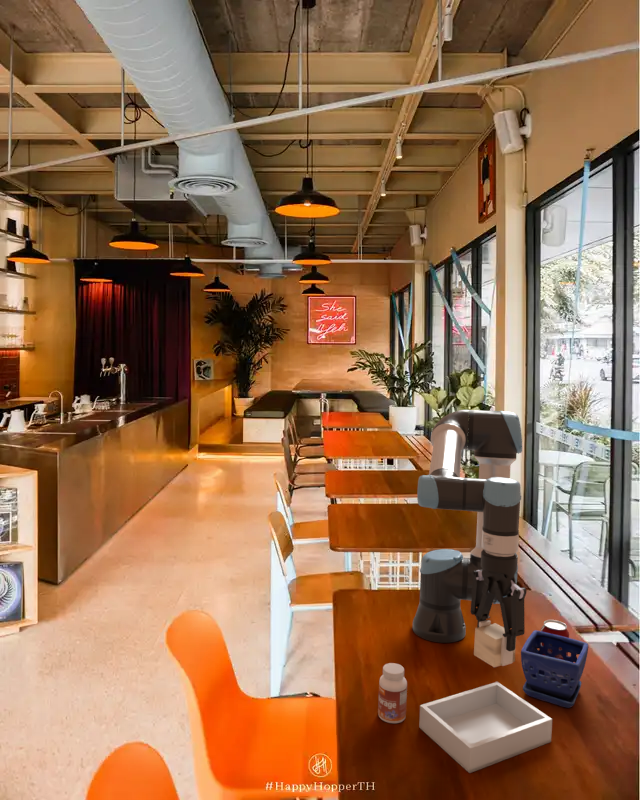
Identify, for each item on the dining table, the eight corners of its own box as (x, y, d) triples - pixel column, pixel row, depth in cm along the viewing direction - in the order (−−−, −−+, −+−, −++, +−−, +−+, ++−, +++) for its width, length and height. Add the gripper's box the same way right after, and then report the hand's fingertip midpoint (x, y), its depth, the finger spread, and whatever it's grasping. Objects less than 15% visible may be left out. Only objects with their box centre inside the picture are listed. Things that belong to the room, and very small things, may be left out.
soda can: (569, 678, 154) (571, 631, 153) (541, 674, 155) (543, 628, 154) (564, 664, 160) (566, 620, 159) (537, 661, 162) (539, 617, 161)
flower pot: (577, 716, 137) (580, 665, 136) (517, 698, 144) (519, 649, 143) (587, 689, 149) (589, 642, 148) (530, 673, 156) (532, 628, 155)
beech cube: (494, 649, 136) (495, 623, 136) (514, 661, 131) (516, 634, 131) (473, 654, 133) (475, 628, 133) (494, 667, 128) (495, 639, 128)
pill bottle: (372, 716, 136) (373, 668, 135) (387, 704, 140) (389, 658, 140) (396, 728, 132) (397, 678, 131) (411, 715, 136) (412, 667, 136)
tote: (419, 727, 132) (420, 705, 132) (496, 702, 142) (497, 681, 142) (469, 773, 118) (470, 748, 118) (551, 741, 128) (552, 719, 128)
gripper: (455, 541, 137) (451, 642, 139) (521, 567, 120) (515, 681, 122) (481, 537, 141) (476, 635, 142) (547, 562, 124) (542, 673, 126)
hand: (494, 656), depth 132 cm, fingers closed on beech cube, 6 cm apart
